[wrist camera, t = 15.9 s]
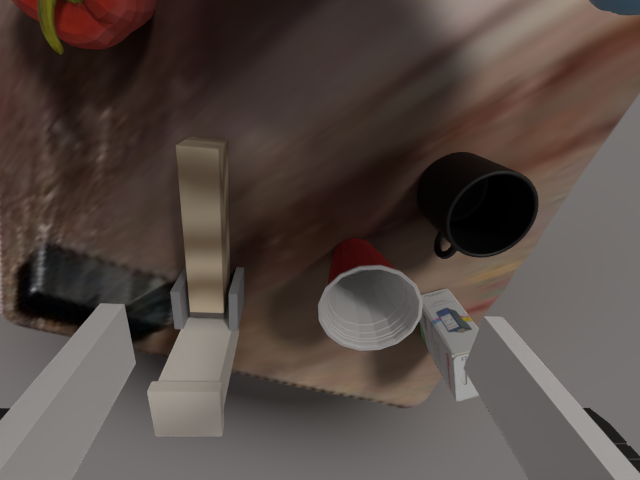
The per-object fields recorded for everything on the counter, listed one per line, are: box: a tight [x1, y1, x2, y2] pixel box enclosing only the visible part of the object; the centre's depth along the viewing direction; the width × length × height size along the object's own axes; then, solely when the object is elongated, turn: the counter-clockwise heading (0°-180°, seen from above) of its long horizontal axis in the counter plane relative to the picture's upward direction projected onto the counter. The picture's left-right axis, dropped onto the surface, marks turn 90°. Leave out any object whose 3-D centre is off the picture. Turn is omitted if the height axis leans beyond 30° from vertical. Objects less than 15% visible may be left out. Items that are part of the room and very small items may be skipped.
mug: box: [417, 152, 538, 259], centre depth 37 cm, size 9×12×9 cm
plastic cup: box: [318, 238, 423, 351], centre depth 39 cm, size 11×11×12 cm
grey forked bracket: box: [147, 265, 244, 437], centre depth 39 cm, size 12×8×15 cm, turn 174°
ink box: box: [419, 289, 479, 401], centre depth 44 cm, size 9×5×12 cm, turn 14°
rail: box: [176, 137, 230, 318], centre depth 38 cm, size 21×4×5 cm, turn 174°
